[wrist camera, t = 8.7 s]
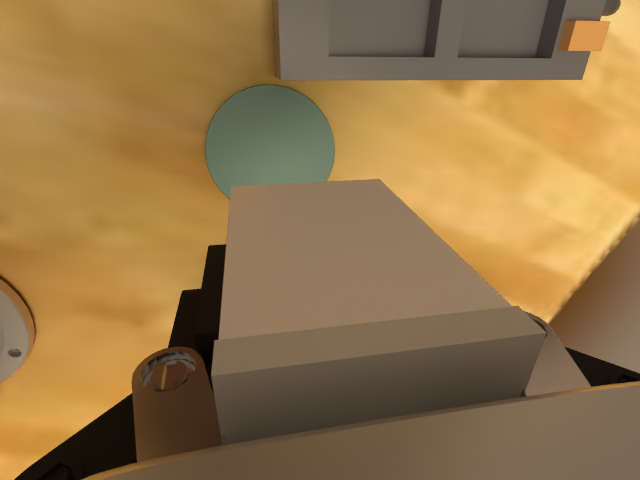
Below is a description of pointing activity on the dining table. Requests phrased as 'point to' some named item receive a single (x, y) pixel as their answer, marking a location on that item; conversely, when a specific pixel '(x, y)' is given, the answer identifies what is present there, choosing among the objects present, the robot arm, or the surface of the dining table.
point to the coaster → (268, 140)
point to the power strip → (437, 39)
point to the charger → (353, 315)
